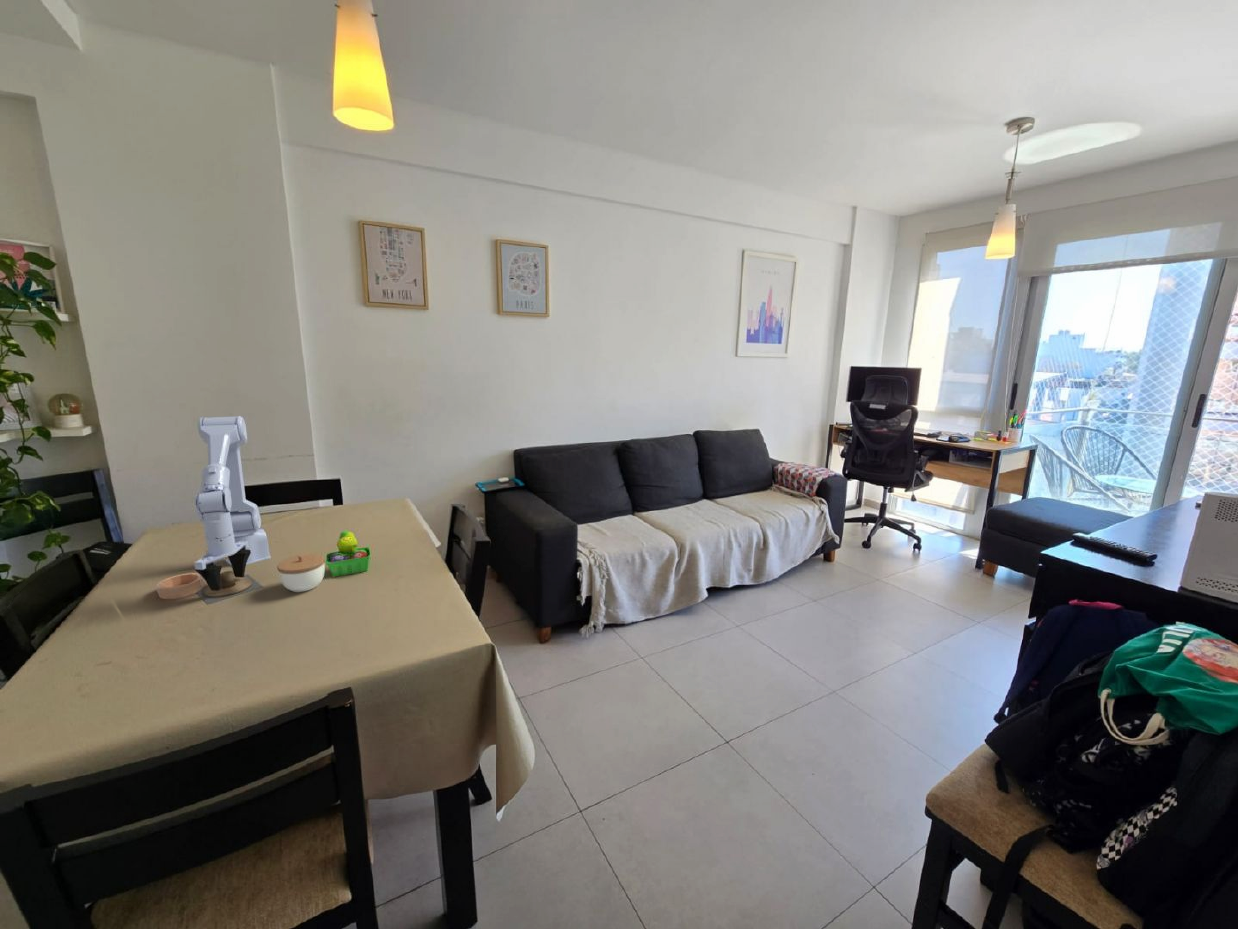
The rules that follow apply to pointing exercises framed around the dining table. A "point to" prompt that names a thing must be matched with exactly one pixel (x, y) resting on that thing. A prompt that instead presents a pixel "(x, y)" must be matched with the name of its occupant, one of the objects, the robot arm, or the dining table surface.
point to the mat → (211, 600)
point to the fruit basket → (348, 556)
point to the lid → (229, 585)
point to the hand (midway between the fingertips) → (228, 583)
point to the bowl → (180, 586)
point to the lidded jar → (302, 572)
